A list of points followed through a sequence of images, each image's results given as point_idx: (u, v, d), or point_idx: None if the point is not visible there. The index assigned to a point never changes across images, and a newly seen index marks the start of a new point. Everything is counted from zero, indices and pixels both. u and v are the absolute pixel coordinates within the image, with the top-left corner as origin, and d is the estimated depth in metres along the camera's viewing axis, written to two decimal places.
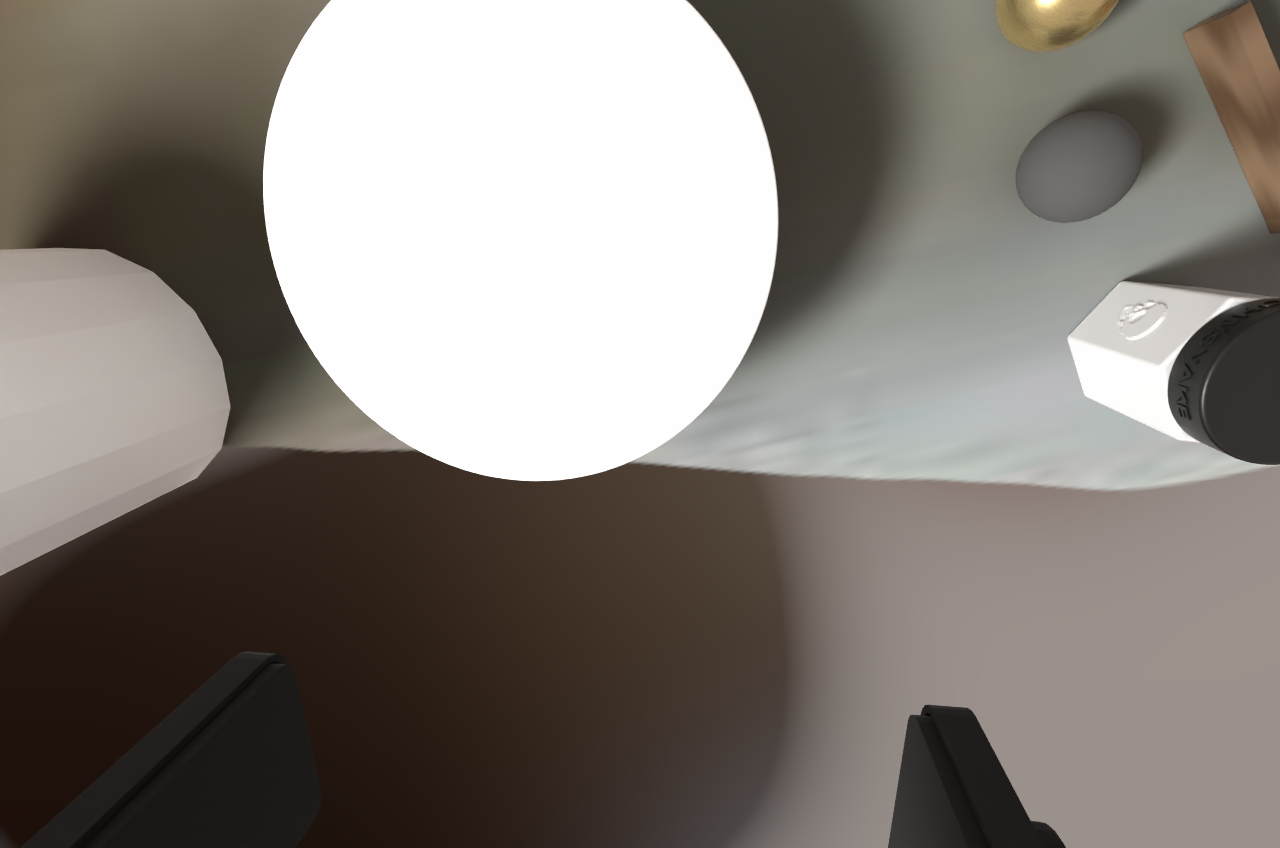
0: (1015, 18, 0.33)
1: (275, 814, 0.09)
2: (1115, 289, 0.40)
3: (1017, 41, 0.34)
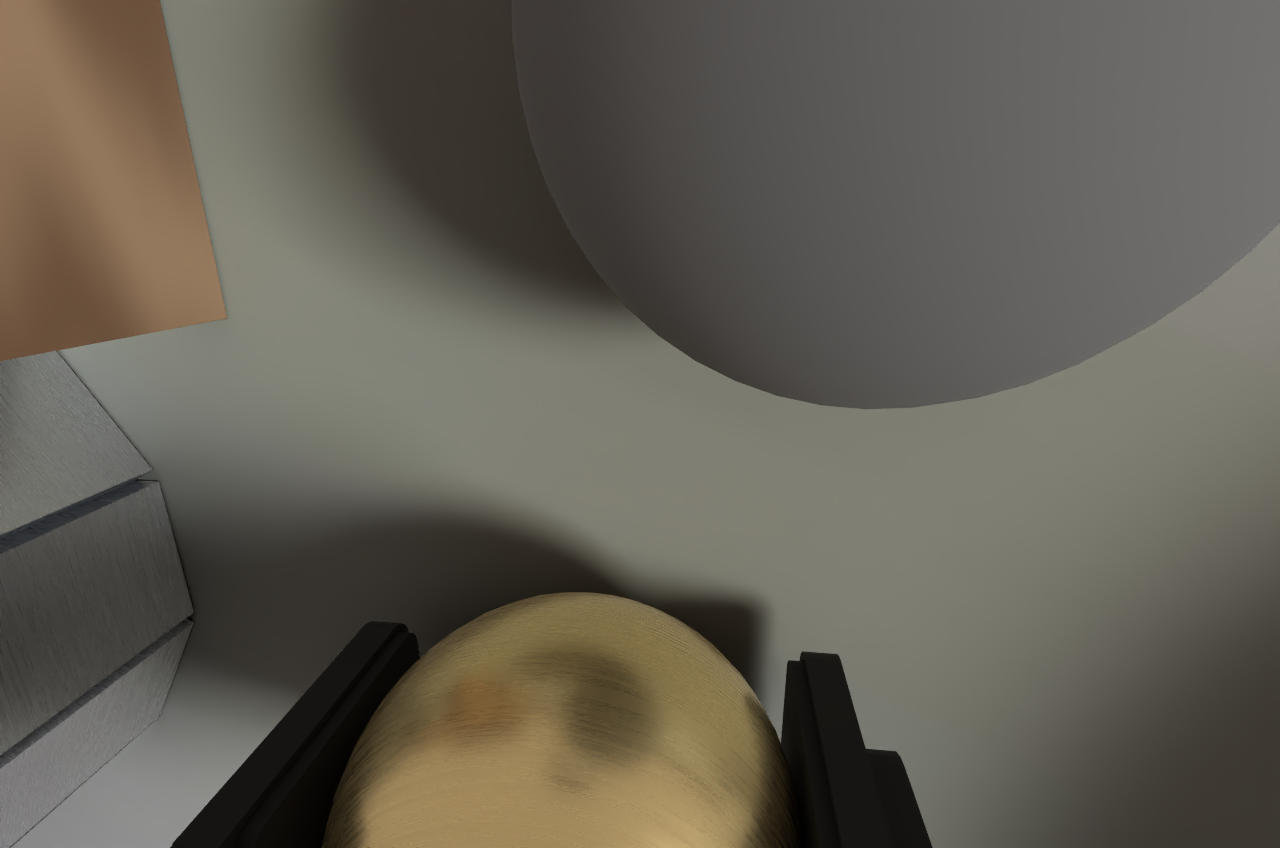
0: None
1: None
2: None
3: (790, 780, 0.08)
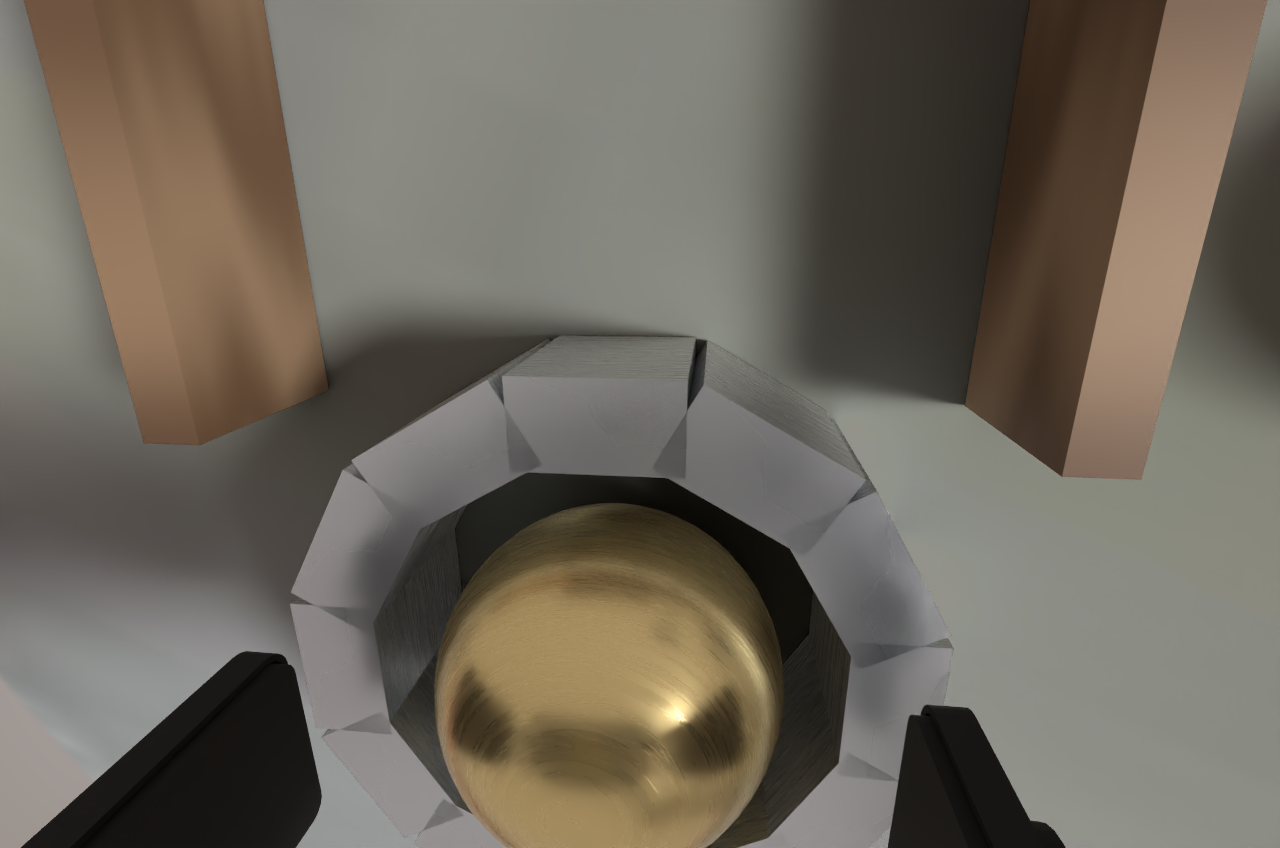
0: (778, 726, 0.10)
1: (276, 814, 0.09)
2: None
3: (773, 630, 0.10)
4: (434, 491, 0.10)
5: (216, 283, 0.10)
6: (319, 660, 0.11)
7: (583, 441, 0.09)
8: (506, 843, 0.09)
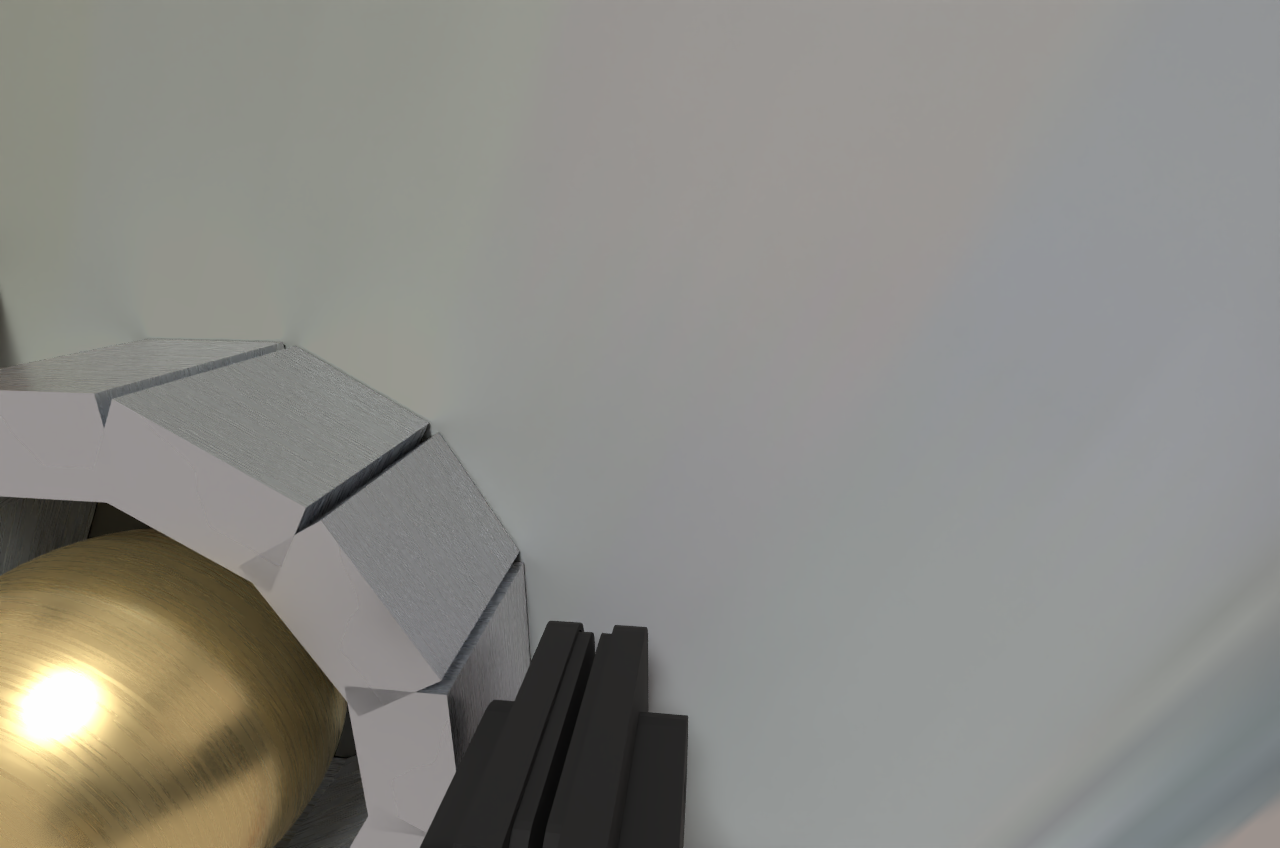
0: (19, 606, 0.08)
1: None
2: None
3: (28, 561, 0.09)
4: None
5: None
6: None
7: None
8: None
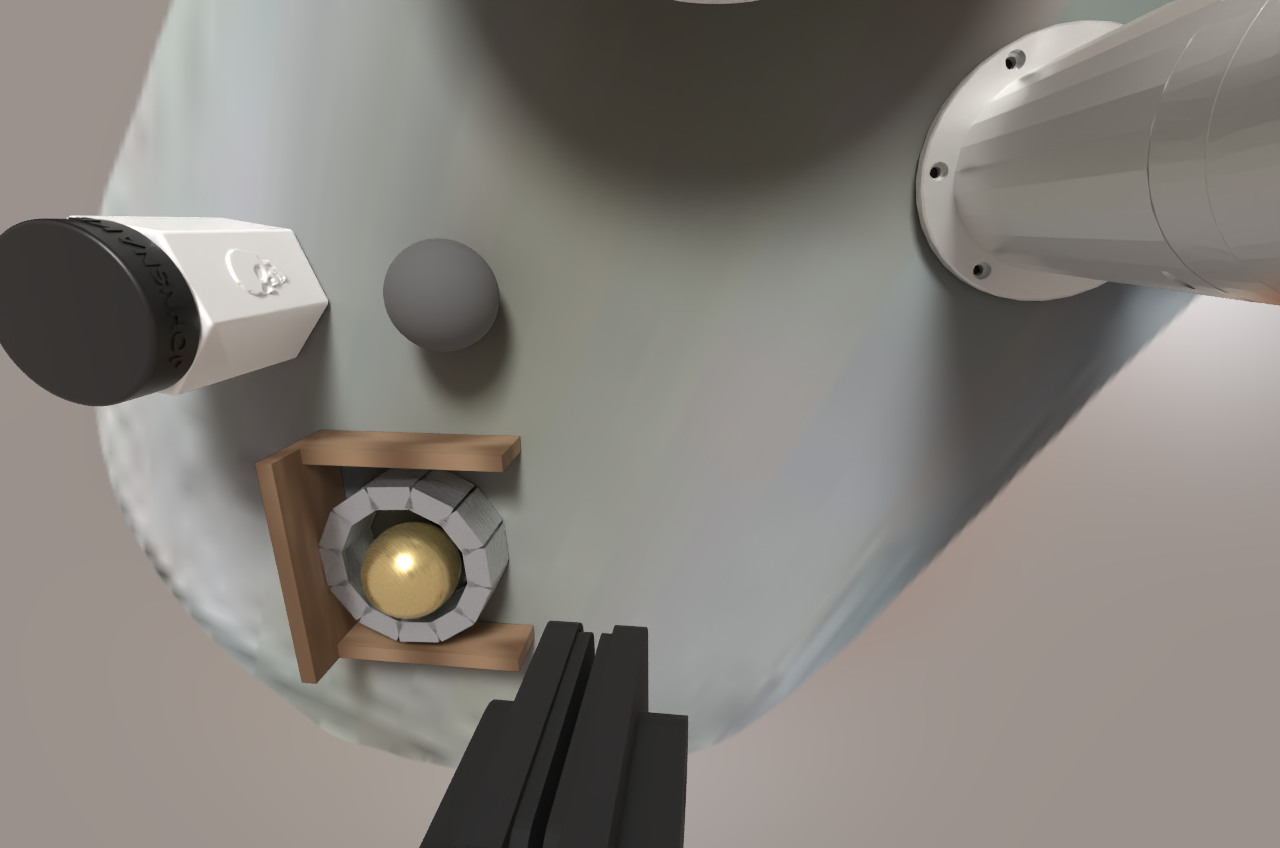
0: (415, 525, 0.39)
1: None
2: (321, 292, 0.37)
3: (413, 538, 0.37)
4: (359, 602, 0.40)
5: (487, 645, 0.41)
6: (415, 637, 0.40)
7: (338, 569, 0.39)
8: None
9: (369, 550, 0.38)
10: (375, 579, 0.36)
